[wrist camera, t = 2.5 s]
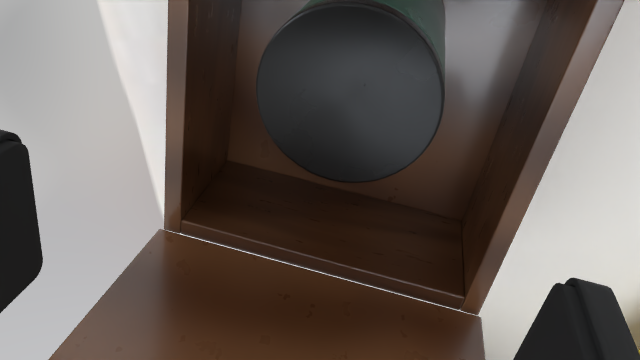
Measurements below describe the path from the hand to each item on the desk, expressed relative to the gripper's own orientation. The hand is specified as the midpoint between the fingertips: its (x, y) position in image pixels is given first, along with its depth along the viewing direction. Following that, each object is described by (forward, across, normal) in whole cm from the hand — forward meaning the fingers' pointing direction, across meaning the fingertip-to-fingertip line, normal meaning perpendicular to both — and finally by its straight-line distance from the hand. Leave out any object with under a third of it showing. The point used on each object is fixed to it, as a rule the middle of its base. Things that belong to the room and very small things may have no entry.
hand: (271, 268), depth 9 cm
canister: (+17, 0, 0) cm, 17 cm away
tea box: (+18, 0, +1) cm, 18 cm away
